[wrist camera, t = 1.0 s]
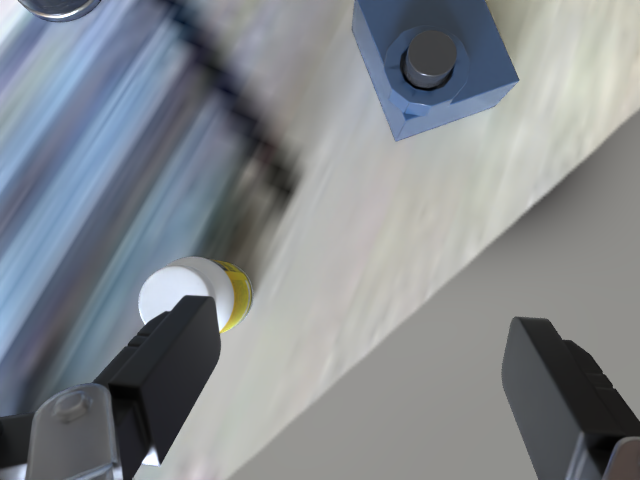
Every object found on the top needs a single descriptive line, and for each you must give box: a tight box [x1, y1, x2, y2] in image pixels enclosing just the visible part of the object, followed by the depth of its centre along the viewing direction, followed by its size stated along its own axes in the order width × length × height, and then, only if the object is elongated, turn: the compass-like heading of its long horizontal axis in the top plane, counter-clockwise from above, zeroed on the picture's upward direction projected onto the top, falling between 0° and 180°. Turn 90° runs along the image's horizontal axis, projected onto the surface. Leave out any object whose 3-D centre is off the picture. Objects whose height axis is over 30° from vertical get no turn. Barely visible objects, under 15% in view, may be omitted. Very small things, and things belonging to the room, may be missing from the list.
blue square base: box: [352, 0, 519, 141], centre depth 35 cm, size 12×11×7 cm
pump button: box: [403, 30, 457, 89], centre depth 30 cm, size 4×4×2 cm
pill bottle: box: [138, 256, 253, 333], centre depth 31 cm, size 6×6×11 cm
